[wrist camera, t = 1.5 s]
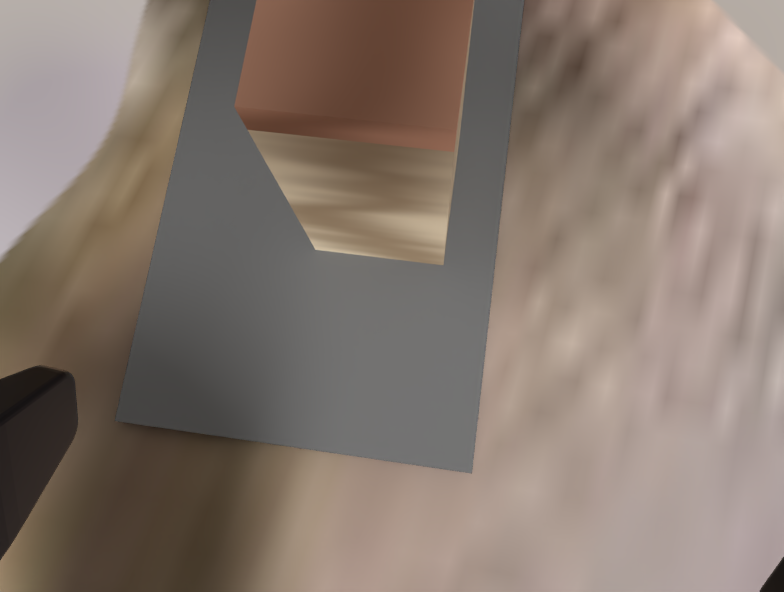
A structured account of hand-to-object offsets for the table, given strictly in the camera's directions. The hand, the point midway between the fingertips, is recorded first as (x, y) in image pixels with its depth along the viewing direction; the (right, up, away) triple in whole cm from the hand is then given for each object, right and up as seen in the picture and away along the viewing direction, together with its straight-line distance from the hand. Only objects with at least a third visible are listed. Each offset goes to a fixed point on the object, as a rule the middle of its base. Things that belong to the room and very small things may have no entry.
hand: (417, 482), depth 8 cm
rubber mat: (-2, +7, +16) cm, 18 cm away
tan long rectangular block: (0, +6, +15) cm, 16 cm away
